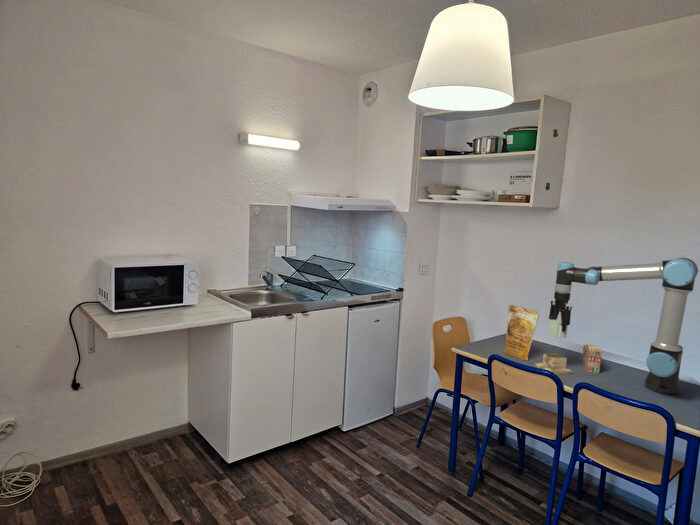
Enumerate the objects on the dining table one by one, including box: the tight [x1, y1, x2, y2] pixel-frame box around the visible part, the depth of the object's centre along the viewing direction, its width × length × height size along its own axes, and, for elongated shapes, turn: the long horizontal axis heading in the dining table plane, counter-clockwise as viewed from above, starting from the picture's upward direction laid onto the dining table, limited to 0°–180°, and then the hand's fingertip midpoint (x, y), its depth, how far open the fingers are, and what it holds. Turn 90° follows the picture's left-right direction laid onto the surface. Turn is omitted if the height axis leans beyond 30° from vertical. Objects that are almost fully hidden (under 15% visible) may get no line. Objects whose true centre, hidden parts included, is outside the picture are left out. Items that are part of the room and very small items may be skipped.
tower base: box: [534, 353, 574, 375], centre depth 251 cm, size 14×13×7 cm
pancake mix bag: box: [504, 304, 540, 361], centre depth 270 cm, size 7×19×28 cm, turn 31°
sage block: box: [548, 319, 569, 339], centre depth 249 cm, size 6×6×8 cm
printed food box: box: [582, 343, 603, 374], centre depth 260 cm, size 21×6×12 cm, turn 160°
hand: (557, 335), depth 250 cm, fingers closed on sage block, 6 cm apart
